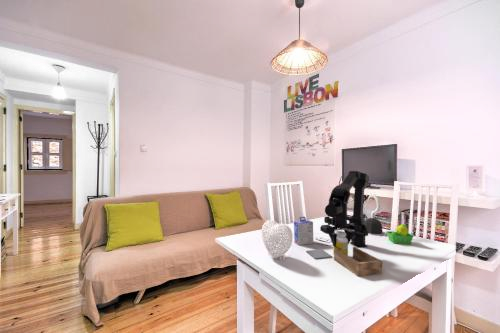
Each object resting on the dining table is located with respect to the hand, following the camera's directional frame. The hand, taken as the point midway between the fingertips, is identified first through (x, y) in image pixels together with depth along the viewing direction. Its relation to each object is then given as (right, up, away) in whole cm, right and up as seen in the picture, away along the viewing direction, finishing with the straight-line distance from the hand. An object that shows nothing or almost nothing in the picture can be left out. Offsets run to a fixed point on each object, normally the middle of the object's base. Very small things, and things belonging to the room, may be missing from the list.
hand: (340, 246), depth 108 cm
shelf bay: (+3, -5, -10) cm, 12 cm away
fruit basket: (+42, -5, +19) cm, 47 cm away
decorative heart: (-31, -5, -2) cm, 32 cm away
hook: (+37, -5, +38) cm, 53 cm away
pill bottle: (0, -5, 0) cm, 5 cm away
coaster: (-10, -5, +2) cm, 11 cm away
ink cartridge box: (-13, -5, +19) cm, 24 cm away
